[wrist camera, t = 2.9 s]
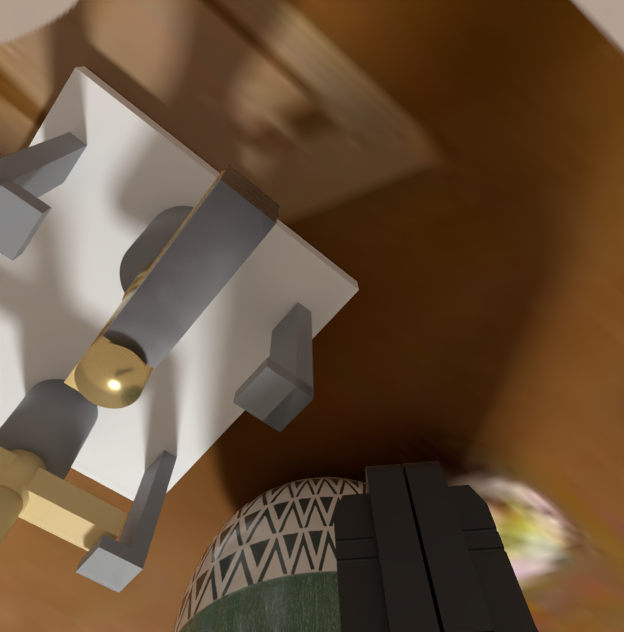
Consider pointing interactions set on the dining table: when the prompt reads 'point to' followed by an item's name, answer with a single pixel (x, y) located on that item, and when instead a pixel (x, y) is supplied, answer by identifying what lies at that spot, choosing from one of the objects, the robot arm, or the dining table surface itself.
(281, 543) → the planter
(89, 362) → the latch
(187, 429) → the lock board
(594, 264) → the dining table surface
